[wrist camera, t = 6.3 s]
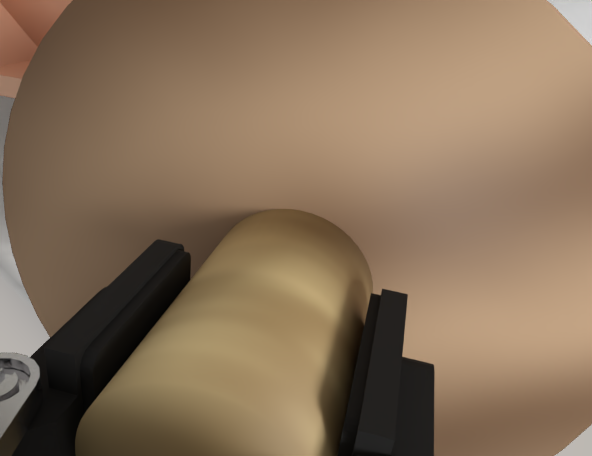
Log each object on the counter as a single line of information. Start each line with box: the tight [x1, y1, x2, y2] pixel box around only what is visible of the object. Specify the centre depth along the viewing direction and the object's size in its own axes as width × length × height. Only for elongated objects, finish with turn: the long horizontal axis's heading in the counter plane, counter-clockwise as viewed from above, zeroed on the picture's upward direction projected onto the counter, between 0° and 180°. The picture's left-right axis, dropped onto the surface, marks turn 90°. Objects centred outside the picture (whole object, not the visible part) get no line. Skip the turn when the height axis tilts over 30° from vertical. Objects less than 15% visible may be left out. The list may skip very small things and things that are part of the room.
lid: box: [2, 0, 592, 456], centre depth 11 cm, size 16×16×7 cm
